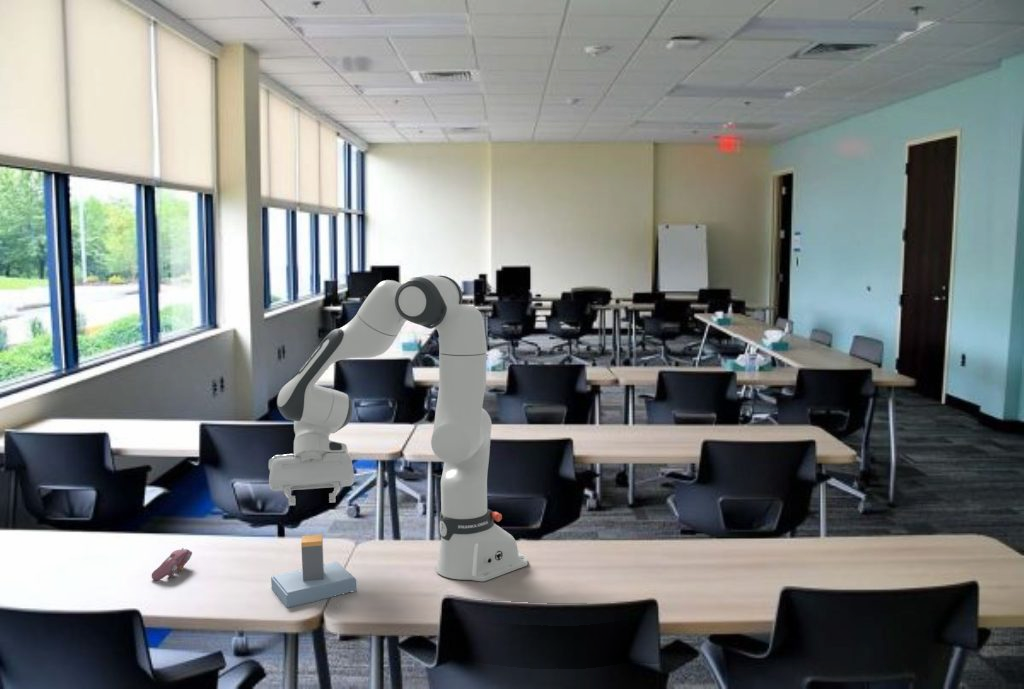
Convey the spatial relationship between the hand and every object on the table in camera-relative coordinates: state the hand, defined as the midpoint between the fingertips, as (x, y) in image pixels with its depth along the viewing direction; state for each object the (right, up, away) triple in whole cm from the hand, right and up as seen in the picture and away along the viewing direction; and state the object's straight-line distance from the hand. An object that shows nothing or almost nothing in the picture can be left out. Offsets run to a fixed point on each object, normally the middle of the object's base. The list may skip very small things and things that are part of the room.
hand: (312, 502), depth 200 cm
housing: (+3, -15, -10) cm, 18 cm away
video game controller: (-34, -18, +1) cm, 38 cm away
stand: (+3, -18, -9) cm, 20 cm away
